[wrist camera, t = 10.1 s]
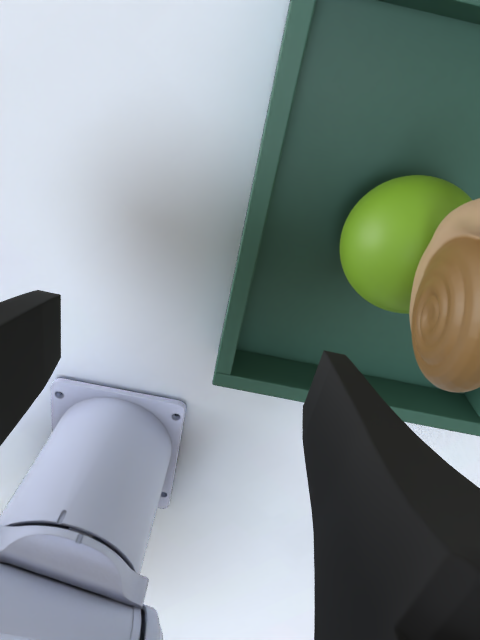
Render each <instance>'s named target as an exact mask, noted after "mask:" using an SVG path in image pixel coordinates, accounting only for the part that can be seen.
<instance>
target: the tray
mask: <svg viewBox="0 0 480 640" xmlns="http://www.w3.org/2000/svg"><path fill="white" fill-rule="evenodd" d="M410 175H426V176H432V177H437V178H440V179H443V180H446V181H448V182H450V183H452V184H454V185H456V186H457V187H459V188H460V189H462V190H463V191H464V192H465V193H466V194H467V195H468V196H469V197H470V198H471V199H472V200H475V199H479V198H480V0H290V4H289V9H288V13H287V18H286V23H285V28H284V33H283V38H282V43H281V48H280V52H279V57H278V62H277V67H276V72H275V77H274V82H273V87H272V91H271V96H270V101H269V106H268V111H267V116H266V121H265V126H264V131H263V135H262V140H261V145H260V150H259V155H258V160H257V165H256V170H255V174H254V179H253V184H252V189H251V194H250V199H249V204H248V209H247V213H246V218H245V223H244V228H243V233H242V238H241V243H240V248H239V252H238V257H237V262H236V267H235V272H234V277H233V282H232V287H231V291H230V296H229V301H228V306H227V311H226V316H225V321H224V326H223V330H222V335H221V340H220V345H219V350H218V355H217V361H216V366H215V371H214V377H213V382H212V384H213V385H217V386H222V387H227V388H232V389H237V390H243V391H248V392H253V393H258V394H263V395H269V396H274V397H279V398H284V399H289V400H295V401H300V402H305V400H306V397H307V394H308V392H309V389H310V386H311V384H312V381H313V378H314V375H315V373H316V370H317V367H318V364H319V362H320V359H321V356H322V354H323V351H324V350H325V351H330V352H334V353H339V354H344V355H346V356H347V357H348V358H349V359H350V360H351V361H352V363H353V364H354V365H355V366H356V367H357V369H358V370H359V371H360V372H361V373H362V375H363V376H364V377H365V378H366V380H367V381H368V382H369V383H370V384H371V386H372V387H373V388H374V389H375V390H376V392H377V393H378V394H379V395H380V396H381V397H382V399H383V400H384V401H385V402H386V403H387V404H388V405H389V407H390V408H391V409H392V410H393V411H394V412H395V413H396V414H397V415H398V416H399V418H400V419H401V420H402V421H404V422H409V423H414V424H419V425H424V426H430V427H435V428H440V429H445V430H450V431H455V432H461V433H466V434H471V435H476V436H480V387H479V388H477V389H474V390H471V391H468V392H460V393H458V392H448V391H445V390H443V389H440V388H438V387H436V386H435V385H433V384H432V383H431V382H430V381H429V380H428V379H427V378H426V377H425V376H424V374H423V373H422V371H421V370H420V368H419V366H418V363H417V361H416V358H415V354H414V350H413V344H412V333H411V327H410V318H409V314H404V313H395V312H390V311H387V310H384V309H381V308H379V307H377V306H374V305H373V304H371V303H369V302H368V301H366V300H365V299H364V298H362V297H361V296H360V295H359V294H358V293H357V292H356V291H355V290H354V288H353V287H352V286H351V284H350V283H349V281H348V279H347V278H346V276H345V273H344V271H343V268H342V264H341V259H340V238H341V233H342V229H343V226H344V224H345V221H346V219H347V217H348V215H349V214H350V212H351V210H352V209H353V207H354V206H355V205H356V204H357V202H358V201H359V200H360V199H361V198H362V197H363V196H364V195H366V194H367V193H368V192H369V191H371V190H372V189H373V188H375V187H377V186H378V185H380V184H382V183H384V182H387V181H389V180H392V179H395V178H398V177H403V176H410Z"/></svg>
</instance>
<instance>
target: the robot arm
mask: <svg viewBox="0 0 480 640" xmlns="http://www.w3.org/2000/svg"><path fill="white" fill-rule="evenodd" d="M60 358H61V295H59V294H54V293H49V292H45V291H40V290H36V291H32V292H29V293H25V294H22V295H19V296H17V297H14V298H11V299H8V300H5V301H3V302H0V446H1V444H2V443H3V442H4V440H5V439H6V438H7V436H8V435H9V434H10V433H11V431H12V430H13V429H14V427H15V426H16V425H17V423H18V422H19V421H20V419H21V418H22V417H23V415H24V414H25V413H26V412H27V410H28V409H29V408H30V406H31V405H32V403H33V402H34V401H35V399H36V398H37V397H38V395H39V394H40V393H41V391H42V390H43V389H44V387H45V385H46V384H47V382H48V380H49V378H50V377H51V375H52V373H53V371H54V369H55V367H56V365H57V364H58V362H59V360H60ZM59 392H62V393H63V394H60V393H59ZM51 409H52V433H51V435H50V437H49V438H48V440H47V442H46V443H45V445H44V446H43V448H42V450H41V451H40V453H39V454H38V456H37V458H36V459H35V461H34V462H33V464H32V466H31V467H30V469H29V470H28V472H27V474H26V475H25V477H24V478H23V480H22V482H21V483H20V485H19V486H18V488H17V490H16V491H15V493H14V494H13V496H12V498H11V499H10V501H9V502H8V504H7V506H6V507H5V509H4V511H3V512H2V514H1V515H0V640H163V633H162V629H161V627H160V624H159V618H158V614H157V611H156V610H155V609H154V608H153V607H150V606H147V605H144V604H143V602H144V598H145V594H146V590H147V586H148V582H149V579H148V578H147V577H144V576H142V575H140V571H141V568H142V564H143V560H144V556H145V552H146V549H147V545H148V541H149V537H150V533H151V529H152V526H153V522H154V518H155V514H156V510H157V508H162V509H164V508H167V507H168V506H169V503H170V498H171V492H172V486H173V481H174V475H175V469H176V464H177V458H178V452H179V446H180V441H181V435H182V429H183V424H184V418H185V412H186V405H185V403H183V402H182V401H179V400H174V399H168V398H163V397H158V396H153V395H147V394H142V393H137V392H132V391H126V390H121V389H116V388H111V387H105V386H100V385H95V384H90V383H84V382H79V381H74V380H69V379H63V378H57V379H55V380H54V381H53V383H52V384H51ZM174 414H178V415H179V416H175V415H174ZM303 446H304V455H305V463H306V470H307V478H308V486H309V493H310V501H311V509H312V518H313V530H314V567H315V633H314V640H480V488H478V487H477V486H476V485H475V484H473V483H472V482H471V481H469V480H468V479H467V478H466V477H464V476H463V475H462V474H460V473H459V472H458V471H457V470H455V469H454V468H453V467H452V466H450V465H449V464H448V463H447V462H446V461H445V460H443V459H442V458H441V457H440V456H439V455H438V454H437V453H436V452H434V451H433V450H432V449H431V448H430V447H429V446H428V445H427V444H425V443H424V442H423V441H422V440H421V439H420V438H419V437H418V436H417V435H416V434H415V433H414V432H413V431H412V430H411V429H410V428H409V427H408V426H407V425H406V424H405V423H404V422H403V421H402V420H401V419H400V418H399V416H398V415H397V414H396V413H395V412H394V411H393V410H392V409H391V408H390V407H389V405H388V404H387V403H386V402H385V401H384V400H383V399H382V397H381V396H380V395H379V394H378V393H377V392H376V390H375V389H374V388H373V387H372V386H371V384H370V383H369V382H368V381H367V380H366V378H365V377H364V376H363V375H362V373H361V372H360V371H359V370H358V369H357V367H356V366H355V365H354V364H353V363H352V361H351V360H350V359H349V358H348V357H347V356H346V355H344V354H339V353H334V352H330V351H325V350H324V351H323V354H322V356H321V359H320V362H319V364H318V367H317V370H316V373H315V375H314V378H313V381H312V384H311V386H310V389H309V392H308V394H307V397H306V400H305V403H304V405H303Z"/></svg>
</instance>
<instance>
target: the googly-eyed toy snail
mask: <svg viewBox="0 0 480 640" xmlns="http://www.w3.org/2000/svg"><path fill="white" fill-rule="evenodd" d="M340 259H341V264H342V268H343V271H344V273H345V276H346V278H347V279H348V281H349V283H350V284H351V286H352V287H353V288H354V290H355V291H356V292H357V293H358V294H359V295H360V296H361V297H362V298H364V299H365V300H366V301H368V302H369V303H371V304H373V305H374V306H377V307H379V308H381V309H384V310H387V311H390V312H395V313H404V314H409V318H410V327H411V333H412V344H413V350H414V354H415V358H416V361H417V363H418V366H419V368H420V370H421V371H422V373H423V374H424V376H425V377H426V378H427V379H428V380H429V381H430V382H431V383H432V384H433V385H435V386H436V387H438V388H440V389H443V390H445V391H448V392H458V393H460V392H468V391H471V390H474V389H477V388H479V387H480V198H479V199H475V200H472V199H471V198H470V197H469V196H468V195H467V194H466V193H465V192H464V191H463V190H462V189H460V188H459V187H457V186H456V185H454V184H452V183H450V182H448V181H446V180H443V179H440V178H437V177H432V176H426V175H410V176H403V177H398V178H395V179H392V180H389V181H387V182H384V183H382V184H380V185H378V186H377V187H375V188H373V189H372V190H371V191H369V192H368V193H367V194H366V195H364V196H363V197H362V198H361V199H360V200H359V201H358V202H357V204H356V205H355V206H354V207H353V209H352V210H351V212H350V214H349V215H348V217H347V219H346V221H345V224H344V226H343V229H342V233H341V238H340Z"/></svg>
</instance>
